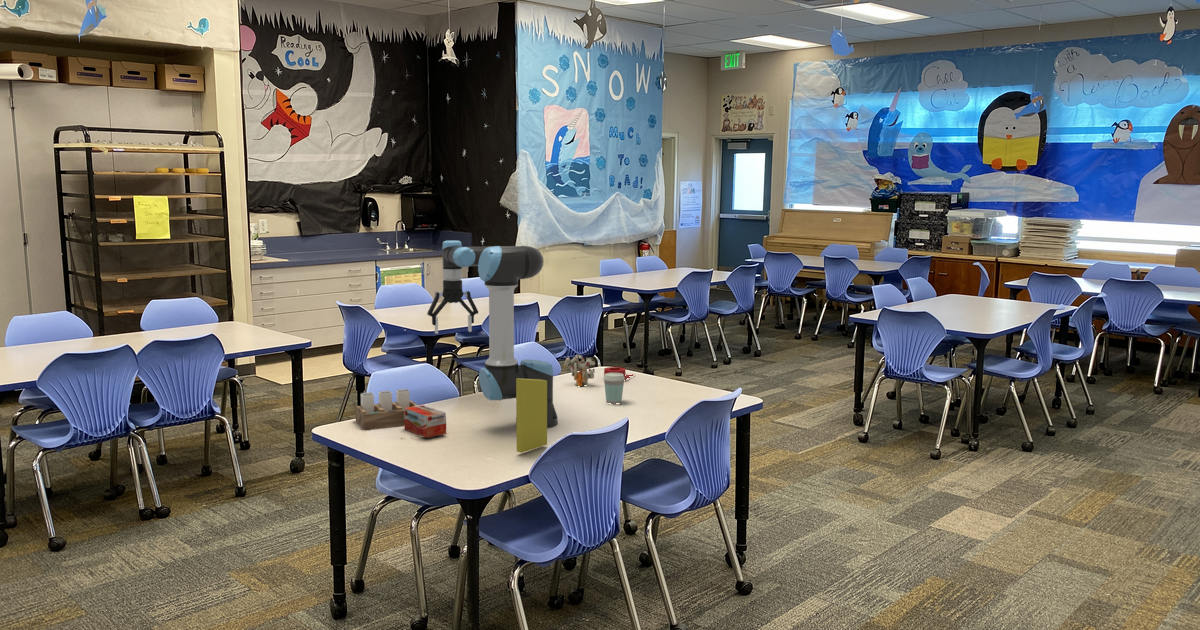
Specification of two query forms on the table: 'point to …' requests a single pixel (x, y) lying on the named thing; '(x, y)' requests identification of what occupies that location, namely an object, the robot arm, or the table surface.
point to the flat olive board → (531, 414)
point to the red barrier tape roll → (616, 371)
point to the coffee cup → (614, 387)
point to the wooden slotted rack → (381, 416)
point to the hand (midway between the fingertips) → (453, 332)
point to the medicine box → (425, 421)
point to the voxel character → (583, 374)
